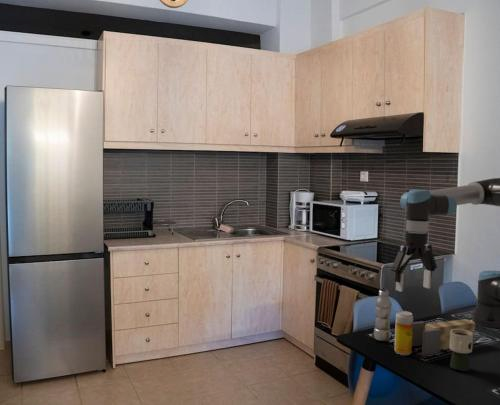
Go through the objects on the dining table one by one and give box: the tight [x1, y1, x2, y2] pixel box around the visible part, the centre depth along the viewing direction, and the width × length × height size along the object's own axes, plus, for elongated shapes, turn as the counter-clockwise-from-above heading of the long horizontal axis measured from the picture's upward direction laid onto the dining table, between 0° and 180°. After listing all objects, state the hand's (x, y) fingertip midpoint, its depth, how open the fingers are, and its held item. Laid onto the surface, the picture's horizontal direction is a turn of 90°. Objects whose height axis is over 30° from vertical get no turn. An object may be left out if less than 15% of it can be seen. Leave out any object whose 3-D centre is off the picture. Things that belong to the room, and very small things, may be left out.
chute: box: [412, 320, 443, 357], centre depth 182 cm, size 7×12×9 cm, turn 20°
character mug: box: [449, 329, 474, 372], centre depth 166 cm, size 11×7×13 cm, turn 156°
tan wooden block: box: [424, 318, 476, 351], centre depth 187 cm, size 20×4×9 cm, turn 111°
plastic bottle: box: [373, 288, 393, 342], centre depth 191 cm, size 6×7×20 cm
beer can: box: [394, 310, 414, 356], centre depth 179 cm, size 6×6×15 cm
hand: (413, 289), depth 179 cm, fingers open, 13 cm apart
